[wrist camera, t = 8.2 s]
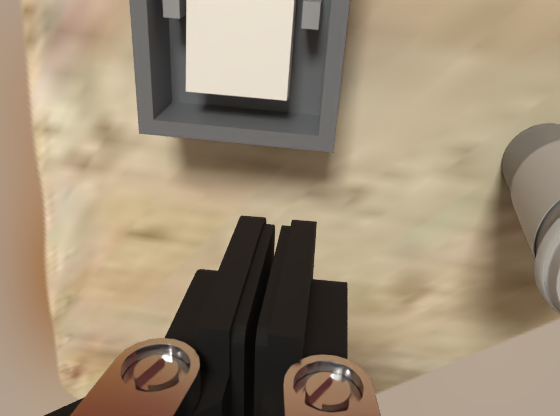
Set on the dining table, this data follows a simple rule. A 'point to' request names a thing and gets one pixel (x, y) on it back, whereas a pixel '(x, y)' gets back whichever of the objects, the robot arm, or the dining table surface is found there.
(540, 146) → the cup
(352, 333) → the dining table surface
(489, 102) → the dining table surface
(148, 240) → the dining table surface
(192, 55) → the rocker
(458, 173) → the dining table surface
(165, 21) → the switch box
